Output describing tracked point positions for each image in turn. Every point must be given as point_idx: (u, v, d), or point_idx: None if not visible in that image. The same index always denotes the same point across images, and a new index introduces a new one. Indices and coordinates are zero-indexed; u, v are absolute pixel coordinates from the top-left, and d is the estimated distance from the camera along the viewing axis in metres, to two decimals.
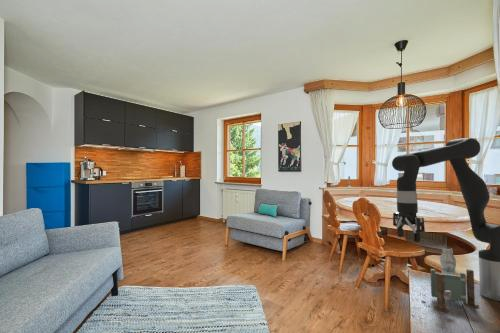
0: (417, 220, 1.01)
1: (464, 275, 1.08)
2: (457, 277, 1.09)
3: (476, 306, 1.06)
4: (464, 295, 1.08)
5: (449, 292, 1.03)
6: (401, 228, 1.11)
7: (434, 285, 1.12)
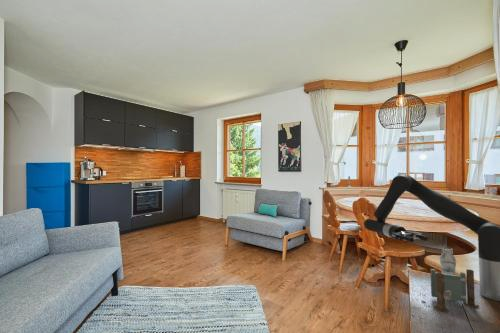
0: (394, 237, 1.28)
1: (464, 275, 1.08)
2: (457, 277, 1.09)
3: (476, 306, 1.06)
4: (464, 295, 1.08)
5: (449, 292, 1.03)
6: (420, 236, 1.25)
7: (434, 285, 1.12)
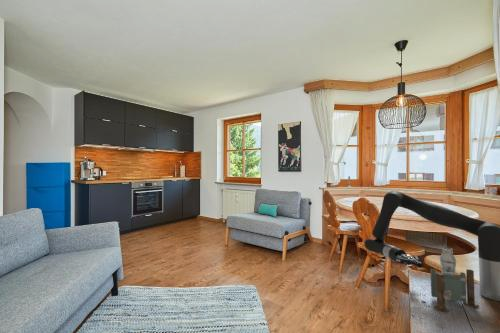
0: None
1: (464, 275, 1.08)
2: (457, 277, 1.09)
3: (476, 306, 1.06)
4: (464, 295, 1.08)
5: (449, 292, 1.03)
6: None
7: (434, 285, 1.12)
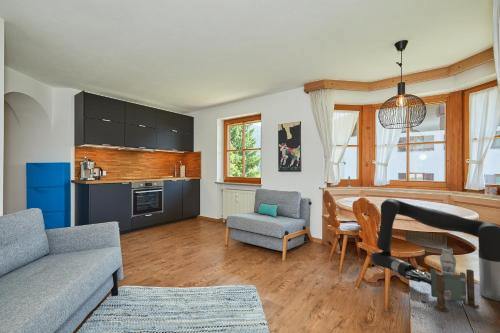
0: None
1: (464, 275, 1.08)
2: (457, 277, 1.09)
3: (476, 306, 1.06)
4: (464, 295, 1.08)
5: (449, 292, 1.03)
6: None
7: (434, 285, 1.12)
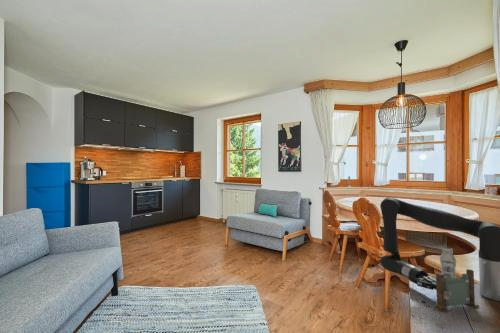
0: None
1: (468, 276, 1.07)
2: (463, 280, 1.06)
3: (476, 306, 1.06)
4: (468, 297, 1.06)
5: (449, 292, 1.03)
6: None
7: None
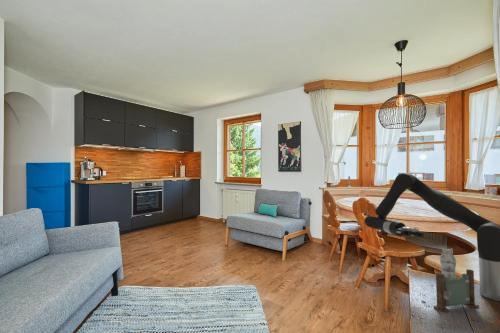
0: None
1: (468, 276, 1.07)
2: (463, 280, 1.06)
3: (476, 306, 1.06)
4: (468, 297, 1.06)
5: (449, 292, 1.03)
6: None
7: None
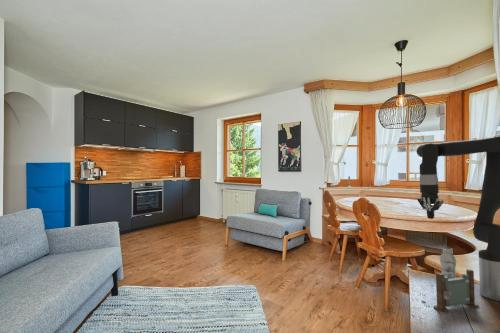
0: (437, 203, 1.19)
1: (468, 276, 1.07)
2: (463, 280, 1.06)
3: (476, 306, 1.06)
4: (468, 297, 1.06)
5: (449, 292, 1.03)
6: None
7: None
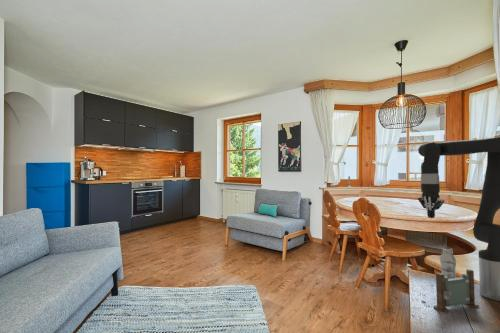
0: (438, 202, 1.19)
1: (468, 276, 1.07)
2: (463, 280, 1.06)
3: (476, 306, 1.06)
4: (468, 297, 1.06)
5: (449, 292, 1.03)
6: None
7: None
